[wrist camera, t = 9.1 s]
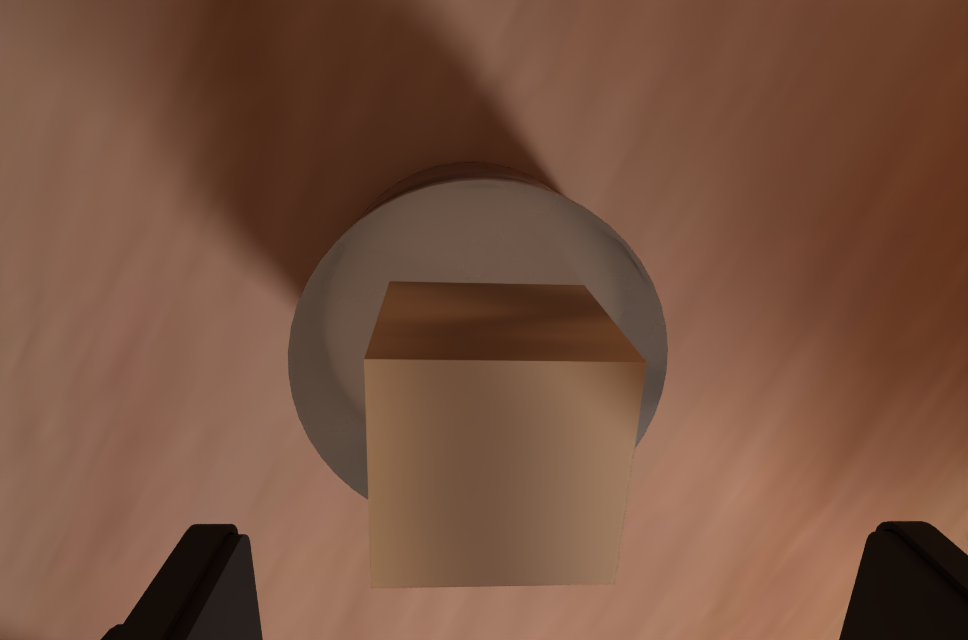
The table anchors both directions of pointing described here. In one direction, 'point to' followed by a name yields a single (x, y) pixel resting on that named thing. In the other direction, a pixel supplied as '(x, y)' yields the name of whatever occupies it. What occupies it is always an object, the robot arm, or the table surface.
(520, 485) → the walnut block
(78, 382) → the table surface
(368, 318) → the black tin
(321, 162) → the table surface
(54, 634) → the table surface
